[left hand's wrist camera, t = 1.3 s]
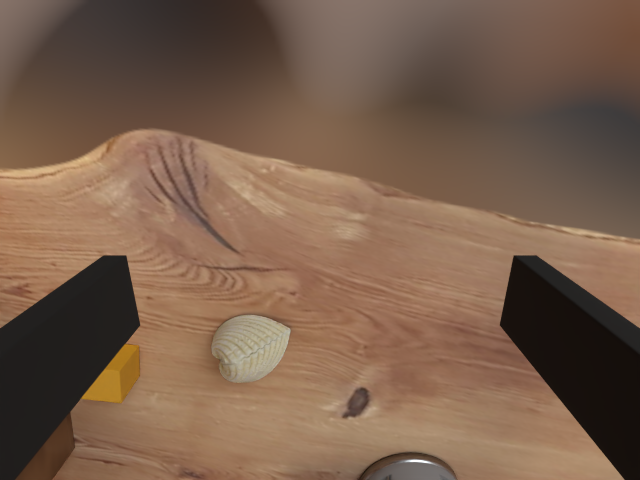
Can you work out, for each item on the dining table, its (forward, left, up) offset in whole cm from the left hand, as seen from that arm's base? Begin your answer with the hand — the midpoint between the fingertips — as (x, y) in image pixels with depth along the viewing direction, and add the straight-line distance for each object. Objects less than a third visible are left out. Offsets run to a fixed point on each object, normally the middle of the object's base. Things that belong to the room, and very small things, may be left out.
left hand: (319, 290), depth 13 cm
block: (-25, +26, -28) cm, 46 cm away
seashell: (-22, +9, -28) cm, 37 cm away
